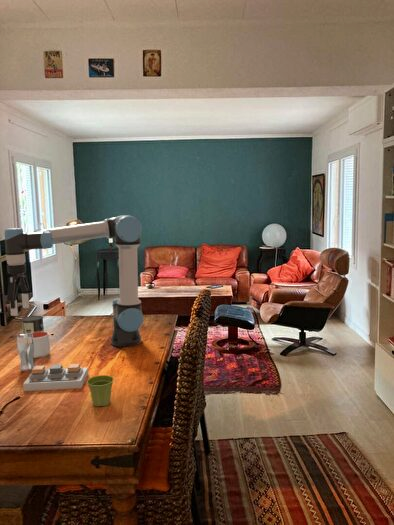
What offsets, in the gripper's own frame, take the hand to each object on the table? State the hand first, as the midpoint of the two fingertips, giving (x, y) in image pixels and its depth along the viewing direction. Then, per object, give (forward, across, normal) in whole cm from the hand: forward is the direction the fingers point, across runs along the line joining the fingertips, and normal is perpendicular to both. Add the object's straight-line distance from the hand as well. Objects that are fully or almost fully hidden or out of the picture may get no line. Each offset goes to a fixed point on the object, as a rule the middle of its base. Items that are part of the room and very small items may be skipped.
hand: (20, 311), depth 197 cm
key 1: (+19, +21, +13) cm, 32 cm away
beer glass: (+25, +5, +3) cm, 25 cm away
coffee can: (+25, -28, -5) cm, 38 cm away
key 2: (+19, +21, +27) cm, 40 cm away
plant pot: (+25, +41, +42) cm, 64 cm away
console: (+24, +21, +20) cm, 38 cm away
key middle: (+20, +21, +20) cm, 35 cm away
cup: (+25, -12, +2) cm, 28 cm away
